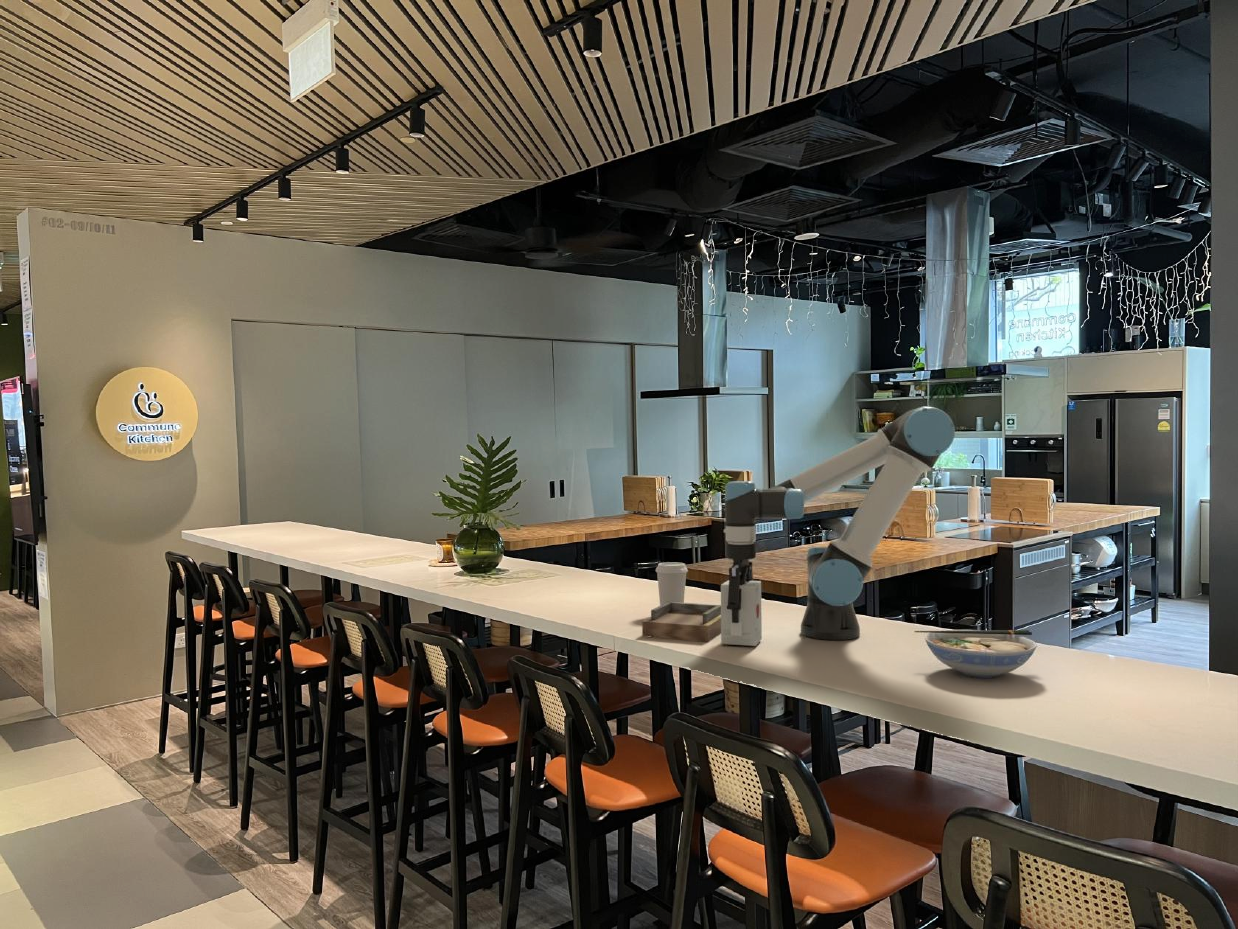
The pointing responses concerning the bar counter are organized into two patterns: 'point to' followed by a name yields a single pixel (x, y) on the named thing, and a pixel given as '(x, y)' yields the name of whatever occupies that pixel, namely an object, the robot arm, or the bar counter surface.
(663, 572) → the coffee cup
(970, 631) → the ramen bowl
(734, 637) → the supplement box
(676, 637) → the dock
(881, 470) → the robot arm
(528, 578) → the bar counter surface
